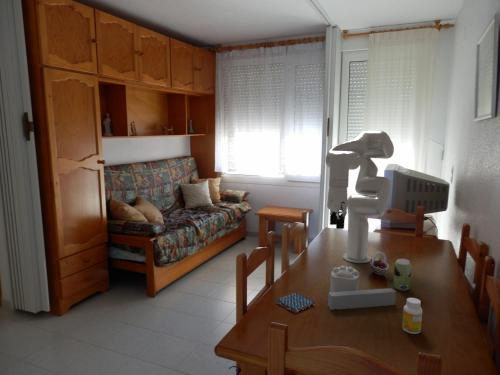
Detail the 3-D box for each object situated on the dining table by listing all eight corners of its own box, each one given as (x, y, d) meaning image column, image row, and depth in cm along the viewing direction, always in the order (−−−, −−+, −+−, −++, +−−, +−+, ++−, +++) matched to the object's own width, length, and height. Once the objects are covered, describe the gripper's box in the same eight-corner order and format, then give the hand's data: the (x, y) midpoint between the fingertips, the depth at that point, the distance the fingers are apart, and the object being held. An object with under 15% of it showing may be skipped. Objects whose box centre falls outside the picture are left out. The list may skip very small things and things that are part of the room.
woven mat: (274, 304, 132) (274, 298, 132) (295, 296, 138) (295, 291, 138) (294, 315, 124) (294, 310, 123) (316, 306, 130) (316, 301, 130)
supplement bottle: (398, 325, 117) (400, 296, 115) (415, 324, 117) (417, 296, 116) (407, 334, 112) (409, 304, 110) (424, 334, 112) (426, 304, 111)
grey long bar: (327, 305, 130) (328, 292, 129) (390, 301, 134) (391, 288, 133) (331, 309, 127) (331, 296, 126) (394, 304, 131) (395, 291, 130)
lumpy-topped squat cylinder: (328, 294, 139) (329, 272, 138) (333, 281, 151) (334, 261, 150) (356, 299, 135) (357, 276, 134) (359, 285, 147) (361, 264, 146)
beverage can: (409, 286, 147) (411, 257, 145) (410, 294, 140) (413, 264, 138) (392, 284, 149) (394, 255, 147) (393, 291, 142) (395, 261, 140)
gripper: (322, 180, 156) (320, 221, 158) (338, 186, 139) (336, 232, 142) (338, 180, 157) (337, 221, 160) (357, 186, 140) (354, 231, 143)
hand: (336, 226), depth 151 cm, fingers open, 5 cm apart
